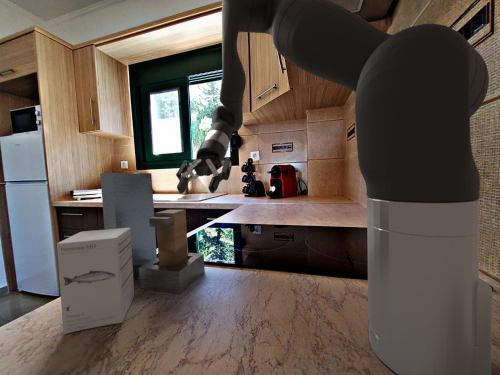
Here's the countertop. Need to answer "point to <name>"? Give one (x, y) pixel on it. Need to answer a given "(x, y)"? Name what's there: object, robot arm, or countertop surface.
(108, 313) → the supplement box
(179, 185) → the robot arm
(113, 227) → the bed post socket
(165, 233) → the tan post
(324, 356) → the countertop surface
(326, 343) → the countertop surface
